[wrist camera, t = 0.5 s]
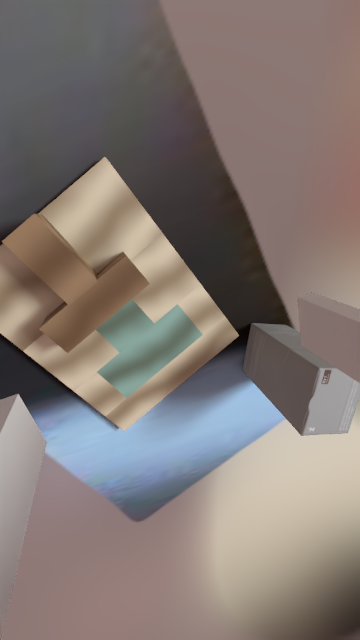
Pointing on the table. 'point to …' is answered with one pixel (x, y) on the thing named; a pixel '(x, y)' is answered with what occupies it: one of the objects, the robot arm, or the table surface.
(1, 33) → the table surface
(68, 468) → the table surface
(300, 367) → the skincare box
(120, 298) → the t block
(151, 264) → the board
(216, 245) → the table surface
